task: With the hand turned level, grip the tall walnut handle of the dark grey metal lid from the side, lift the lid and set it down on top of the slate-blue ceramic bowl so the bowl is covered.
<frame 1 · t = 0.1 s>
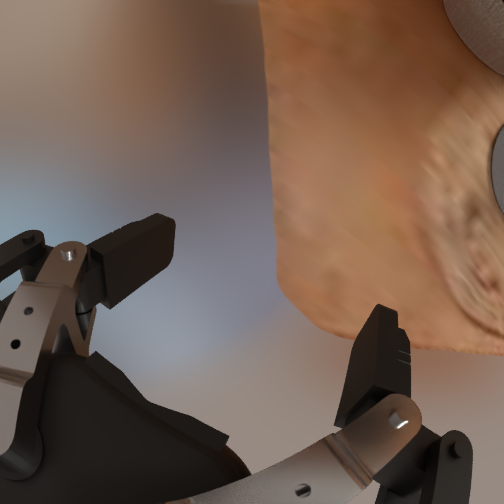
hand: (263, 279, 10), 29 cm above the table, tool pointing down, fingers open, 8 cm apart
planter: (495, 25, 15), on the table
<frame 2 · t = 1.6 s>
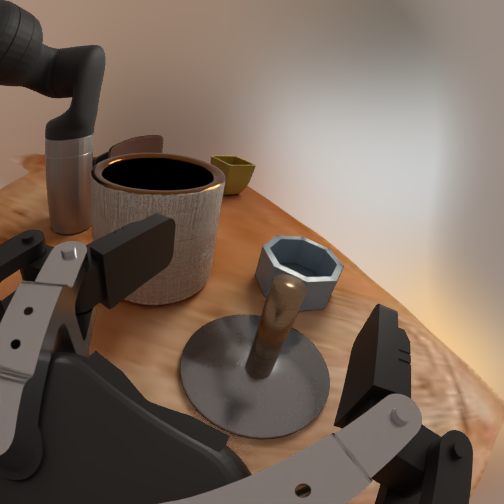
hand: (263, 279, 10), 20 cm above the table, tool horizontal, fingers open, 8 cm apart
letter holder: (122, 190, 64), on the table
planter: (152, 270, 41), on the table
flower pot: (227, 192, 75), on the table
bowl: (294, 284, 45), on the table
lid: (256, 371, 30), on the table
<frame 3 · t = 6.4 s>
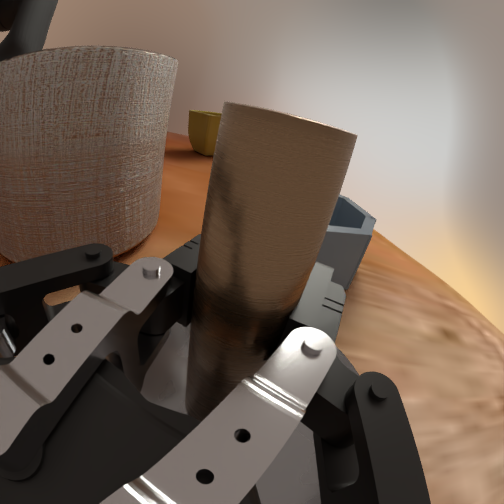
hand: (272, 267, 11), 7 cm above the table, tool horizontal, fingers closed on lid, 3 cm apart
planter: (73, 225, 23), on the table
flower pot: (208, 154, 58), on the table
bowl: (296, 251, 28), on the table
lid: (215, 411, 12), on the table, touching gripper
when the fingers open (14 cm above the table, at t = 10.1 s): lid drops 1 cm, resting on bowl.
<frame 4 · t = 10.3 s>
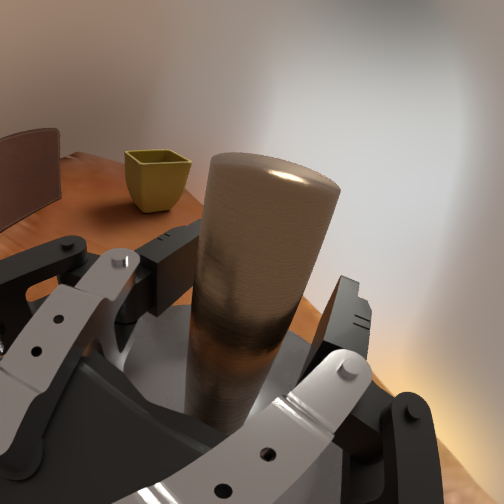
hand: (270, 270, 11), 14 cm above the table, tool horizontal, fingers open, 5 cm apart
letter holder: (10, 215, 34), on the table
flower pot: (152, 207, 45), on the table
lid: (212, 422, 13), point 5 cm above the table, touching bowl
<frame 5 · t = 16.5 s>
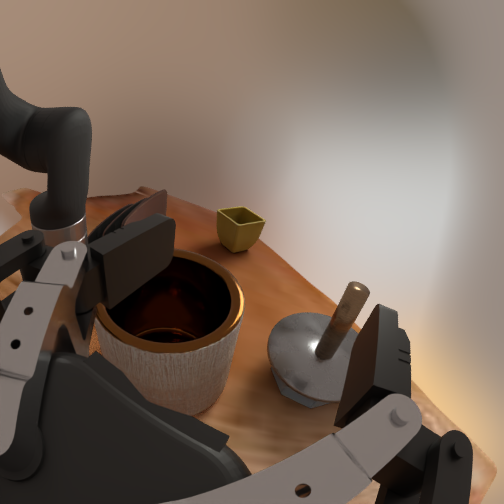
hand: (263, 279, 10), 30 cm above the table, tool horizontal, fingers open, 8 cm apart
letter holder: (129, 254, 60), on the table
planter: (166, 370, 38), on the table
flower pot: (234, 247, 72), on the table
bowl: (309, 374, 42), on the table
lid: (322, 354, 39), point 5 cm above the table, touching bowl
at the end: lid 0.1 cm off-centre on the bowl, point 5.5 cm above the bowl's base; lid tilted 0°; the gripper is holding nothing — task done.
